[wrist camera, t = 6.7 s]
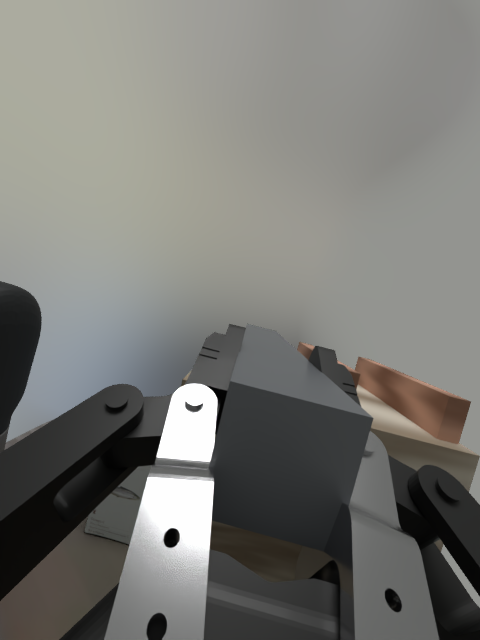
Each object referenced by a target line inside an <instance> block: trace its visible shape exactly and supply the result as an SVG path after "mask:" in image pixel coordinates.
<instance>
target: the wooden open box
mask: <svg viewBox="0 0 480 640" xmlns="http://www.w3.org/2000/svg"><path fill="white" fill-rule="evenodd" d="M313 349H314V346H312V345H309V344H306V343H302V342H299V345H298V349H297V350H298V351H299V352H300V353H301V354H302V355H303V356H304V357H305V358H307V359H308V360H309V357H310V355H311V353H312V351H313ZM337 362H338V364H342V365H344V364H343V363H341V362H339V361H338V360H337ZM344 366H345V367H346V368H347V369H348V371H349V372H350V373H351V375H352V377H353V381H354V384H355V388H356V391H357V396H358V398H359V401H360V404H361V407H362V408H363V409H364V410H365V411H366V412H367V413H368V414H370V415H371V416H372V417H373V422H372V425H371V429H370V431H371V432H372V433H374V434H375V435H376V436H377V437H378V438H379V439H380V440H381V442H382V443H383V445H384V446H385V448H386V451H387V454H388V455H389V456H391V457H393V458H394V459H396V460H398V461H400V462H402V463H403V464H405V465H407V466H409V467H411V468H413V469H414V470H416V471H417V470H418V469H420V468H421V467H422V466H424V465H434V466H437V467H439V468H441V469H443V470H445V471H447V472H448V473H450V474H451V475H452V476H454V477H455V478H456V479H457V480H458V481H459V482H460V483H461V484H462V485H463V486H464V487H465V489H466V490H467V491H468V492H469V490H470V486H471V483H472V480H473V476H474V473H475V470H476V466H477V463H478V460H479V457H480V456H479V455H477V454H475V453H474V452H472V451H471V450H469V449H468V448H466V447H465V446H463V445H462V444H460V443H459V440H460V437H461V434H462V430H463V427H464V423H465V420H466V417H467V413H468V410H469V407H470V403H471V402H470V401H468V400H465V399H463V398H461V397H458V396H456V395H454V394H451V393H449V392H447V391H444V390H442V389H439V388H437V387H435V386H432V385H430V384H427V383H425V382H423V381H420V380H418V379H415V378H413V377H411V376H408V375H406V374H404V373H401V372H399V371H396V370H394V369H391V368H389V367H387V366H384V365H382V364H380V363H377V362H375V361H372V360H370V359H366V358H362V357H358V361H357V364H356V368H355V370H353V369H351V368H350V367H348V366H346V365H344ZM190 373H191V371H190V372H189V373H188V375H186V376H185V378H184V379H183V380H182V385H181V387H182V386H184V385H185V383H186V381H187V379H188V377H189V375H190ZM216 436H217V435H216V434H215V440H216ZM214 444H215V441H214ZM434 543H435V544H436V546H437V547H438V549H439V550H440V552H441V550H442V547H443V542H442V541H441V540H438V541H436V542H434ZM209 549H211V550H215V551H218V552H222V553H226V554H228V555H229V556H231V557H232V558H233V559H235V560H236V561H238V562H239V563H241V564H242V565H244V566H245V567H247V568H248V569H250V570H251V571H253V572H254V573H256V574H257V575H259V576H260V577H262V578H263V579H265V580H266V581H269V582H283V581H293V580H294V578H295V571H296V565H297V561H298V557H299V554H300V551H301V549H302V545H298V544H295V543H291V542H288V541H284V540H280V539H277V538H273V537H270V536H266V535H262V534H259V533H255V532H252V531H248V530H244V529H241V528H237V527H234V526H230V525H226V524H223V523H219V522H215V521H212V520H211V533H210V548H209Z"/></svg>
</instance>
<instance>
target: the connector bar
mask: <svg viewBox="0 0 480 640" xmlns="http://www.w3.org/2000/svg"><path fill="white" fill-rule="evenodd" d="M372 422H373V417H372V416H371V415H370V414H368V413H367V412H366V411H365V410H364V409H363V408H362V407H361V406H359V405H358V404H357V403H356V402H355V401H354V400H353V399H352V398H350V397H349V396H348V395H347V394H346V393H345V392H344V391H343V390H341V389H340V388H339V387H338V386H337V385H336V384H335V383H334V382H332V381H331V380H330V379H329V378H328V377H327V376H326V375H325V374H323V373H322V372H320V371H319V370H318V369H317V368H316V367H315V366H314V365H313V364H312V363H310V362H309V361H308V359H307V358H305V357H304V356H303V355H302V354H301V353H300V352H299V351H298V350H296V349H295V348H294V347H293V346H292V345H291V344H290V343H289V342H287V341H286V340H285V339H284V338H283V337H282V336H281V335H280V334H278V333H277V332H276V331H274V330H270V329H265V328H262V327H257V326H253V325H249V324H247V326H246V330H245V334H244V338H243V342H242V346H241V350H240V352H239V353H238V356H237V359H236V363H235V366H234V370H233V373H232V376H231V380H230V383H229V387H228V391H227V395H226V399H225V403H224V407H223V411H222V415H221V420H220V424H219V428H218V432H217V436H216V440H215V444H214V448H213V452H212V456H211V460H210V464H209V467H211V468H213V469H214V488H213V503H212V518H211V520H212V521H215V522H219V523H223V524H226V525H230V526H234V527H237V528H241V529H244V530H248V531H252V532H255V533H259V534H262V535H266V536H270V537H273V538H277V539H280V540H284V541H288V542H291V543H295V544H298V545H302V546H306V547H309V548H313V549H316V550H320V551H324V549H325V546H326V544H327V541H328V539H329V536H330V533H331V531H332V528H333V525H334V523H335V520H336V518H337V515H338V512H339V510H340V507H341V504H342V503H344V504H347V505H349V504H350V500H351V497H352V493H353V489H354V486H355V482H356V479H357V475H358V472H359V468H360V464H361V461H362V457H363V454H364V450H365V447H366V443H367V440H368V436H369V432H370V429H371V425H372Z"/></svg>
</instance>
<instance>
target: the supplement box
mask: <svg viewBox="0 0 480 640" xmlns="http://www.w3.org/2000/svg"><path fill="white" fill-rule="evenodd" d="M151 467H152V465H150V466H139V467H137V468H136V469H135V470H134V471H133V472H132V473H131V474H130V475H129V476H128V477H127V478H126V479H125V480H124V481H123V482H122V483H121V484H120V485H119V486H118V487H117V488H116V489H115V490H114V491H113V492H112V493H111V494H110V495H109V496H108V497H107V498H106V499H104V500H103V501H102V502H101V503H100V504H99V505H98V506H97V507H96V508H95V509H94V510H93V511H92V512H91V513H90V514H89V515H88V519H87V524H86V527H85V533H91V534H95V535H99V536H103V537H106V538H110V539H113V540H116V541H120V542H123V543H126V544H129V545H130V542H131V538H132V534H133V531H134V527H135V523H136V519H137V516H138V512H139V508H140V505H141V501H142V497H143V493H144V490H145V486H146V482H147V479H148V475H149V472H150V469H151Z"/></svg>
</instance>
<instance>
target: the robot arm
mask: <svg viewBox="0 0 480 640" xmlns="http://www.w3.org/2000/svg"><path fill="white" fill-rule="evenodd" d="M245 330H246V328H244V327H240V326H236V325H231V324H229V327H228V329H227V332H226V335H223V334H219V333H213V334H212V335H210V336H209V337H208V338H206V340H205V342H204V345H203V347H202V349H201V351H200V353H199V356H198V358H197V360H196V362H195V364H194V366H193V368H192V370H191V373H190V375H189V377H188V379H187V381H186V383H185V385H184V386H182V387H180V388H179V389H178V390H177V391H176V392H175V393H173V394H170V395H167V396H161V397H160V396H159V397H143V395H142V393H141V391H140V390H139V389H137V388H136V387H134V386H132V385H128V384H117V385H112V386H109V387H107V388H105V389H103V390H102V391H100V392H98V393H97V394H95V395H93V396H91V397H90V398H88V399H87V400H85V401H83V402H82V403H80V404H79V405H77V406H75V407H74V408H72V409H71V410H69V411H67V412H66V413H64V414H62V415H61V416H59V417H58V418H56V419H54V420H53V421H51V422H50V423H48V424H46V425H45V426H43V427H42V428H40V429H38V430H37V431H35V432H33V433H32V434H30V435H29V436H27V437H25V438H24V439H22V440H21V441H19V442H17V443H16V444H14V445H13V446H11V447H9V448H8V449H6V450H4V449H5V444H6V439H7V434H8V429H9V424H10V420H11V416H12V414H13V412H14V410H15V409H16V407H17V405H18V403H19V402H20V400H21V398H22V396H23V394H24V391H25V388H26V385H27V381H28V377H29V374H30V370H31V366H32V362H33V359H34V355H35V352H36V348H37V345H38V341H39V337H40V331H41V311H40V307H39V305H38V303H37V301H36V299H35V298H34V297H33V296H32V295H31V294H30V293H29V292H27V291H26V290H24V289H22V288H20V287H18V286H14V285H12V284H8V283H5V282H1V281H0V601H1V600H2V599H3V598H4V597H5V596H6V595H7V594H8V593H9V592H10V591H11V590H12V589H13V588H14V587H15V586H16V585H17V584H18V583H19V582H20V581H21V580H22V579H23V578H24V577H25V576H26V575H27V574H28V573H29V572H30V571H31V570H32V569H33V568H35V567H36V566H37V565H38V564H39V563H40V562H41V561H42V560H43V559H44V558H45V557H46V556H47V555H48V554H49V553H50V552H51V551H52V550H53V549H54V548H55V547H56V546H57V545H58V544H59V543H60V542H61V541H62V540H63V539H64V538H65V537H66V536H67V535H68V534H69V533H71V532H72V531H73V530H74V529H75V528H76V527H77V526H78V525H79V524H80V523H81V522H82V521H83V520H84V519H85V518H86V517H87V516H88V515H89V514H90V513H91V512H92V511H93V510H94V509H95V508H96V507H97V506H98V505H99V504H100V503H101V502H102V501H103V500H104V499H106V498H107V497H108V496H109V495H110V494H111V493H112V492H113V491H114V490H115V489H116V488H117V487H118V486H119V485H120V484H121V483H122V482H123V481H124V480H125V479H126V478H127V477H128V476H129V475H130V474H131V473H132V472H133V471H134V470H135V469H136V468H137V467H139V466H150V465H152V467H151V469H150V472H149V475H148V479H147V482H146V486H145V490H144V493H143V497H142V501H141V505H140V508H139V512H138V516H137V519H136V523H135V527H134V531H133V534H132V538H131V542H130V545H129V549H128V553H127V557H126V560H125V564H124V568H123V571H122V575H121V579H120V583H118V584H117V585H116V586H115V587H114V588H113V589H112V590H111V591H110V592H109V593H108V594H107V595H106V596H105V597H104V598H103V599H102V600H101V601H100V602H98V603H97V604H96V605H95V606H94V607H93V608H92V609H91V610H90V611H89V612H88V613H87V614H86V615H85V616H84V617H83V618H82V619H81V620H79V621H78V622H77V623H76V624H75V625H74V626H73V627H72V628H71V629H70V630H69V631H68V632H67V633H66V634H65V635H64V636H63V637H62V638H61V639H59V640H480V608H479V607H478V606H477V605H476V603H475V602H474V601H473V600H472V599H471V597H470V595H469V594H468V592H467V591H466V589H465V588H464V586H463V585H462V583H461V582H460V580H459V579H458V577H457V576H456V575H455V573H454V572H453V570H452V568H451V567H450V565H449V564H448V562H447V561H446V560H445V558H444V556H443V555H442V553H441V552H440V550H439V549H438V547H437V546H436V544H435V543H434V542H436V541H438V540H441V541H442V542H443V544H444V545H445V547H446V548H447V550H448V551H449V553H450V554H451V555H452V557H453V558H454V560H455V561H456V563H457V564H458V566H459V567H460V569H461V570H462V571H463V573H464V574H465V576H466V577H467V579H468V580H469V581H470V583H471V584H472V586H473V587H474V589H475V590H476V592H477V593H478V595H479V596H480V505H479V504H478V503H477V501H476V500H475V499H474V498H473V497H472V496H471V494H469V492H468V491H467V490H466V489H465V487H464V486H463V485H462V484H461V483H460V482H459V481H458V480H457V479H456V478H455V477H454V476H452V475H451V474H450V473H448V472H447V471H445V470H443V469H441V468H439V467H437V466H434V465H424V466H422V467H421V468H420V469H418V470H417V471H416V470H414V469H413V468H411V467H409V466H407V465H405V464H403V463H402V462H400V461H398V460H396V459H394V458H393V457H391V456H389V455H388V454H387V451H386V448H385V446H384V445H383V443H382V442H381V440H380V439H379V438H378V437H377V436H376V435H375V434H374V433H372V432H371V431H370V432H369V436H368V440H367V443H366V447H365V450H364V454H363V457H362V461H361V464H360V468H359V472H358V475H357V479H356V482H355V486H354V489H353V493H352V497H351V500H350V504H349V505H347V504H344V503H342V504H341V507H340V510H339V512H338V515H337V518H336V520H335V523H334V525H333V528H332V531H331V533H330V536H329V539H328V541H327V544H326V546H325V549H324V551H320V550H316V549H313V548H309V547H306V546H302V549H301V551H300V554H299V557H298V561H297V565H296V571H295V578H294V580H293V581H283V582H269V581H266V580H265V579H263V578H262V577H260V576H259V575H257V574H256V573H254V572H253V571H251V570H250V569H248V568H247V567H245V566H244V565H242V564H241V563H239V562H238V561H236V560H235V559H233V558H232V557H231V556H229V555H228V554H226V553H222V552H218V551H215V550H211V549H209V548H210V533H211V518H212V503H213V488H214V469H213V468H211V467H209V464H210V460H211V456H212V452H213V448H214V441H215V434H216V435H217V432H218V428H219V424H220V420H221V415H222V411H223V407H224V403H225V399H226V395H227V391H228V387H229V383H230V380H231V376H232V373H233V370H234V366H235V363H236V359H237V356H238V353H239V352H240V350H241V346H242V342H243V338H244V334H245ZM308 361H309V362H310V363H312V364H313V365H314V366H315V367H316V368H317V369H318V370H319V371H320V372H322V373H323V374H325V375H326V376H327V377H328V378H329V379H330V380H331V381H332V382H334V383H335V384H336V385H337V386H338V387H339V388H340V389H341V390H343V391H344V392H345V393H346V394H347V395H348V396H349V397H350V398H352V399H353V400H354V401H355V402H356V403H357V404H358V405H359V406H361V404H360V401H359V398H358V396H357V391H356V388H355V384H354V381H353V377H352V375H351V373H350V372H349V371H348V369H347V368H346V367H345V366H344V365H342V364H338V362H337V358H336V354H335V351H334V350H331V349H327V348H323V347H319V346H315V347H314V349H313V351H312V353H311V355H310V357H309V360H308Z"/></svg>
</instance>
